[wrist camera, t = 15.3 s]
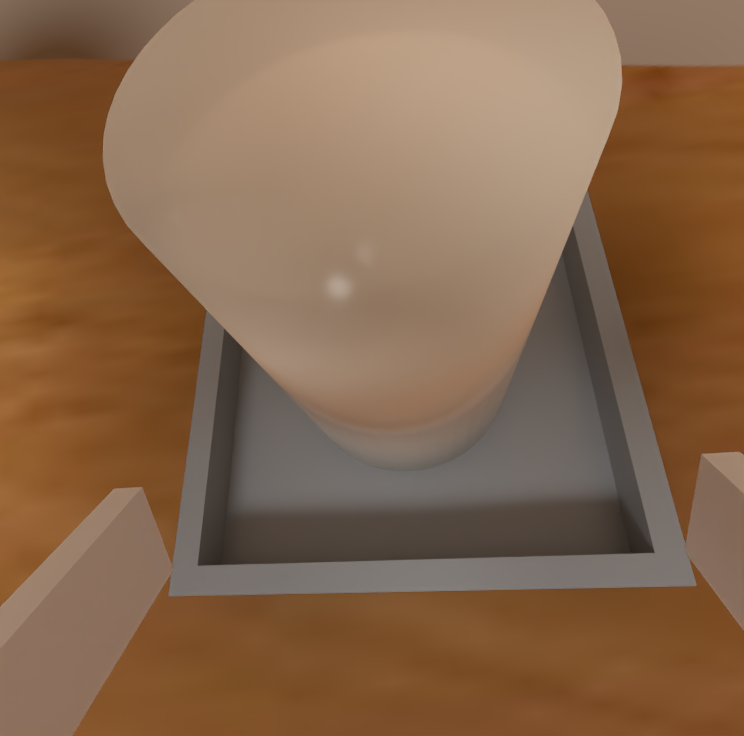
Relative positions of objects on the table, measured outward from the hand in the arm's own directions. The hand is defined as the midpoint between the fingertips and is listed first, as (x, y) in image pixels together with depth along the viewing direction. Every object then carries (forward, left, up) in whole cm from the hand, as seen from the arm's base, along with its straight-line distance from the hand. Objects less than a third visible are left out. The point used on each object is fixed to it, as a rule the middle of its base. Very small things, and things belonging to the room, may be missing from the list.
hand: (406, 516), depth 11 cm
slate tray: (0, +7, -9) cm, 11 cm away
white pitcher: (0, +8, -8) cm, 11 cm away
